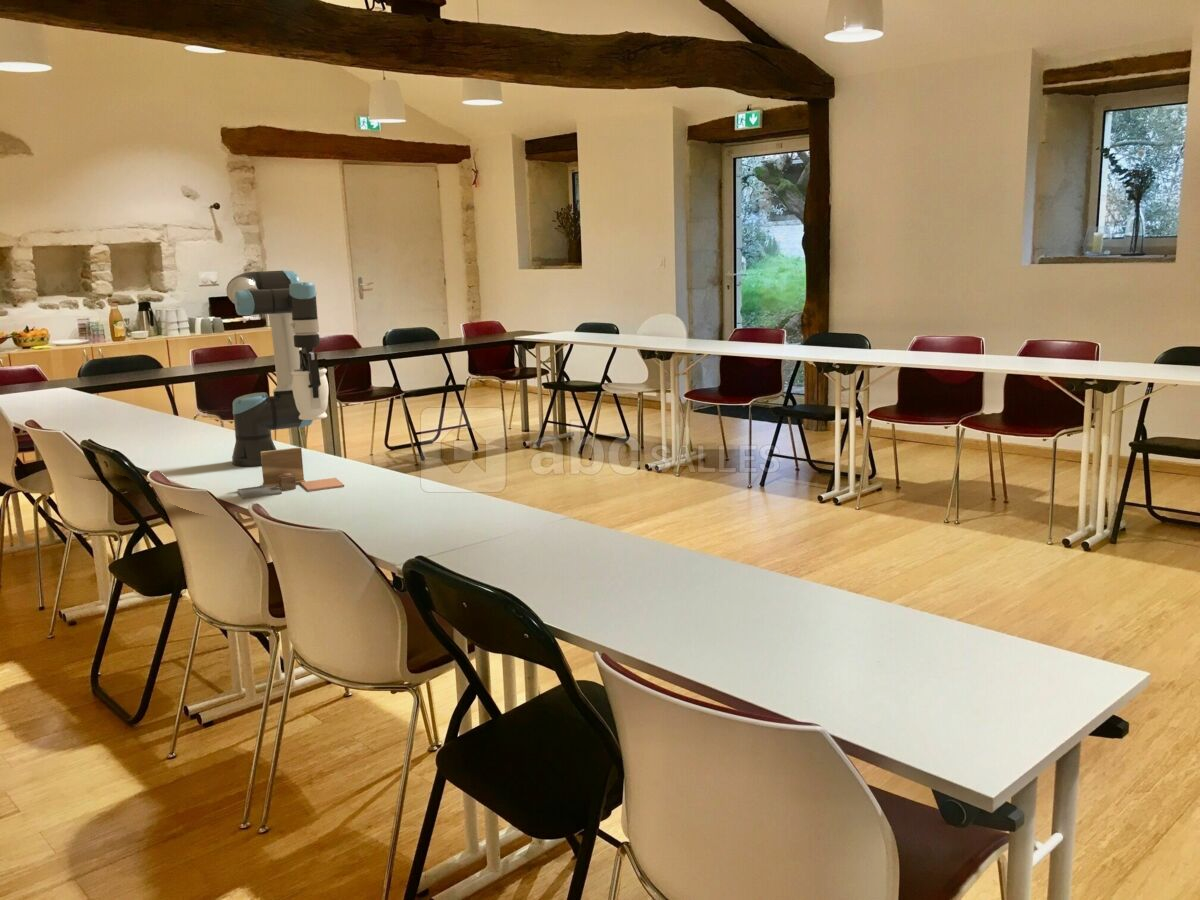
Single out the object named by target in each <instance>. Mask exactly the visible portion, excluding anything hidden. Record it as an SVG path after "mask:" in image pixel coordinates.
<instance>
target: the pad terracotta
mask: <svg viewBox="0 0 1200 900" xmlns="http://www.w3.org/2000/svg"><path fill="white" fill-rule="evenodd" d="M299 485H300V486H302V487H303V488H304V489H305V490H306V491H307V492H314V491H316V492H317V491H321V490H322V491H323V490H331V489H339V488H344V487H345V484H344V483H343V482H342V481H340V479H338V478H337V477H331V478H323V479H321V478H320V479H315V480H307V481H306V480H305V482H300V484H299Z"/></svg>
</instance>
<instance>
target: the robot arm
mask: <svg viewBox="0 0 1200 900" xmlns="http://www.w3.org/2000/svg"><path fill="white" fill-rule="evenodd" d="M300 279H301V278H299V275H298V274H297V273H296V272H295V271H293V270H283V269H282V270H268V271H267V270H266V271H248V272H243V273H240V274H238V275H236V276H234V277H233V278H232V279H230V281H229V282H228V283H227V285H226V295H227V298H228V299H229V301H231V302H232V303H233V304H234V306H235V307H234V308H235V311H236V314H237V315H238V316H256V315H257V316H258V315H268V316H269V319H270V329H271V338H272V340H271V341H272V348H273V357H274V364H275V365H274V366H275V375H276V387H275V388H274V389H273V392H272V393H273V395H272V396H271V395H270V396H269V395H268V393H267V392H265V391H264V392H263V391H261V392H254V393H253V392H252V393H249V394H244V395H241V396H238V397H235V399H233V401H232V415H233V424H234V435H235V443H234V448H233V453H232V455H231V456H232V457H231V461H232V462H231V463H232V465H234V466H238V467H256V466H262V462H261V452H262V451H271V450H277V448H276V445H275V442H274V441H273V438H272V431H275V430H288V429H300V428H303V427H304V428H305V427H309V426H311V425H312V424H313V421H314V420H301V419H299V415H300V412H299V411H298V409H297V407H296V404H295V399H294V396H293V390H292V382H293V375H292V374H291V371H293V370H297V369H302V371H308V372H310V373H309V381H310V385H308V388H310V398H311V409H319V408H321V402H320V390H319V386H320V385H321V383H320V376H319V369H318V368H319V364H318V353H317V352H315V350H314V348H317V347H320V345H321V343H320V340H321V339H320V335H319V334H318V333H319V331H320V327H319V324H320V323H319V319H318V318H319V317H318V307H317V306H318V305H317V291H316V285H315V283H314V282H312V281H301V280H300ZM300 348H301V349H300Z"/></svg>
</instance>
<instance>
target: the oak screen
mask: <svg viewBox="0 0 1200 900" xmlns="http://www.w3.org/2000/svg"><path fill="white" fill-rule="evenodd" d="M302 453H303V451H302V447H300V446H299V447H290V448H289V447H288V448H282V449H276V450H271V451H262V452H261V462H262V465H261V470H262V486H265V487H267V486H275V485H276V486H277V487H278V488H280V482H279V475H282V474H286V473H291V474H293V475H294V476H295V483H296V486H297V485H301V484H300V482H306V480H305V477H304V475H305V474H304V465H303V454H302Z"/></svg>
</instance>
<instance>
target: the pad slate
mask: <svg viewBox="0 0 1200 900" xmlns="http://www.w3.org/2000/svg"><path fill="white" fill-rule="evenodd" d="M236 491H237V492H238V493H239V496H241V498H242V499H243V500H244V499H245V500H246V499H252V498H253V499H254V498H261V497H262V498H263V497H269V496H277V495H282V494H283V493H282V490H281V489H280V488H279V487H277V486H276V485H275V486H267V487H265V486H263V485H259V486H253V487H252V486H251V487H244V488H242V487H241V488H237V489H236Z"/></svg>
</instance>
